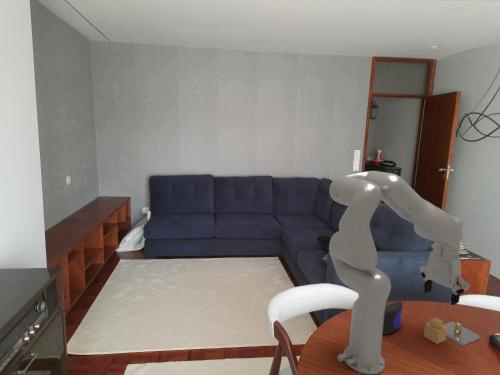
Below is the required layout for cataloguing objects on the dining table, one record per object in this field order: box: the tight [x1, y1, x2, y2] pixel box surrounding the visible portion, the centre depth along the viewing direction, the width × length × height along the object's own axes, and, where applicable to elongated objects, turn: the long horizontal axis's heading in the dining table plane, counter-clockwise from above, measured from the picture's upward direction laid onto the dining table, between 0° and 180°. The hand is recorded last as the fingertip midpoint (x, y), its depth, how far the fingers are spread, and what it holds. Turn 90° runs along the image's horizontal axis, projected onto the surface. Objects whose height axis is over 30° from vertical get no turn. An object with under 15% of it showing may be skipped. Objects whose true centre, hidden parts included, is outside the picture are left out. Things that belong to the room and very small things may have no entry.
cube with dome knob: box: [423, 317, 447, 345], centre depth 117 cm, size 5×5×7 cm
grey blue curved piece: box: [382, 300, 404, 336], centre depth 121 cm, size 16×5×9 cm, turn 123°
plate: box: [443, 320, 481, 347], centre depth 120 cm, size 10×10×4 cm
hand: (440, 297), depth 115 cm, fingers open, 9 cm apart
